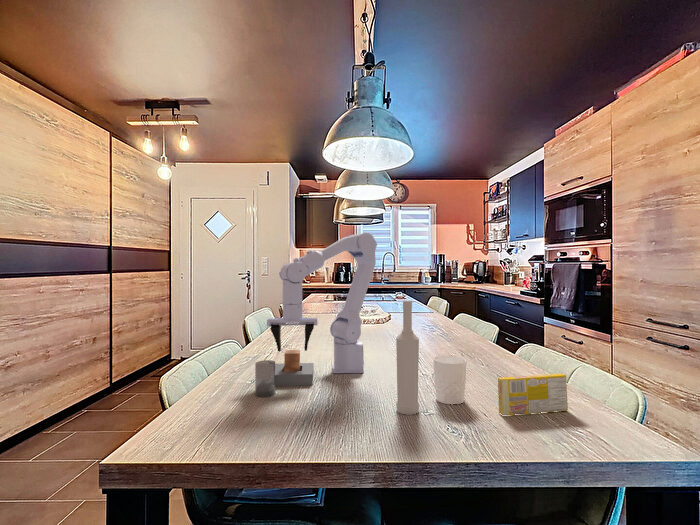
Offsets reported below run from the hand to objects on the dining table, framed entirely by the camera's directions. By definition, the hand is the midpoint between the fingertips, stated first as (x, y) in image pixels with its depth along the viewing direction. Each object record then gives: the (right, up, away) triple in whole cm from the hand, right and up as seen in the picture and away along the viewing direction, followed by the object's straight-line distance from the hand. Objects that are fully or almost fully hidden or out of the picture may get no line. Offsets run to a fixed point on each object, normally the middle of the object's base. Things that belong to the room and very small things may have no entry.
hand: (292, 350), depth 107 cm
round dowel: (-5, -8, -13) cm, 16 cm away
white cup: (+41, -8, -17) cm, 45 cm away
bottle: (+30, -8, -24) cm, 39 cm away
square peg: (0, -8, 0) cm, 8 cm away
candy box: (+58, -8, -25) cm, 64 cm away
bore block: (0, -8, 0) cm, 8 cm away
